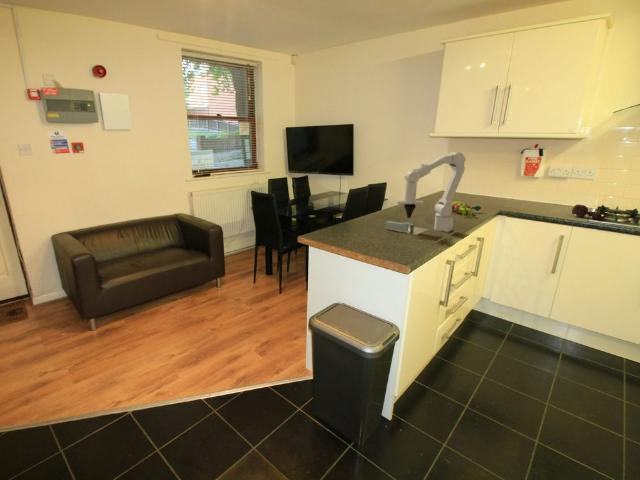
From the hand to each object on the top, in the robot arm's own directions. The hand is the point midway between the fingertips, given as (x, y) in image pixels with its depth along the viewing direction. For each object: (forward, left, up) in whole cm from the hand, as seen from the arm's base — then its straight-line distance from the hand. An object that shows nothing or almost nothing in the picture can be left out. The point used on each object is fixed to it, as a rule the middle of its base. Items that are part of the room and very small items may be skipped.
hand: (408, 217), depth 189 cm
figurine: (-73, -111, -9) cm, 133 cm away
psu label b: (0, 0, -7) cm, 7 cm away
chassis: (+1, -2, -8) cm, 9 cm away
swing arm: (+2, +4, -7) cm, 8 cm away
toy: (-4, -71, -9) cm, 72 cm away
